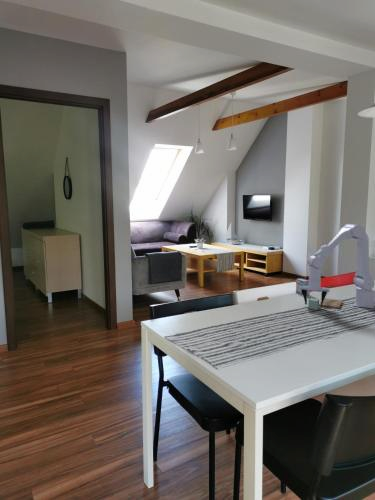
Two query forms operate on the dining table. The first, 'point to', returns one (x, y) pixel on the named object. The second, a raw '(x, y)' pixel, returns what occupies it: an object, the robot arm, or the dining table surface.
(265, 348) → the dining table surface
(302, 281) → the medicine box
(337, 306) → the walnut board
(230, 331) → the dining table surface
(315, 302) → the teal cube
